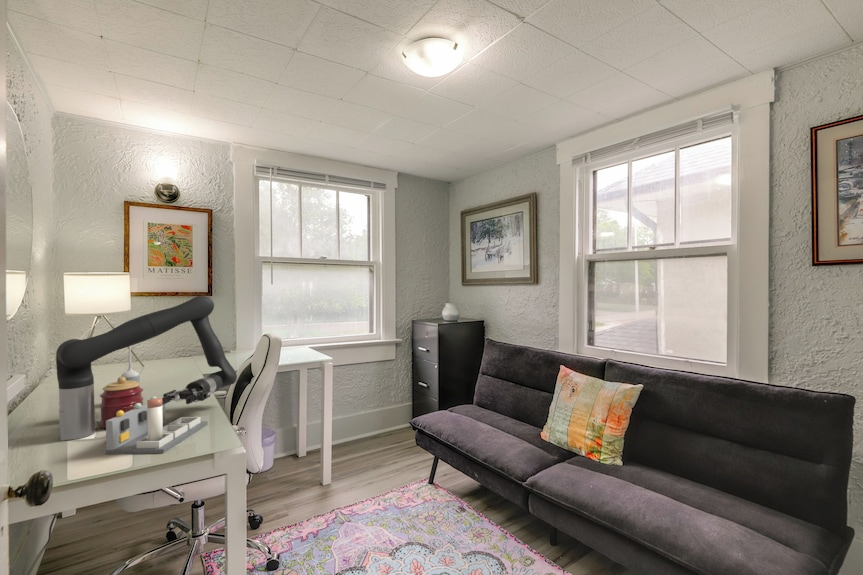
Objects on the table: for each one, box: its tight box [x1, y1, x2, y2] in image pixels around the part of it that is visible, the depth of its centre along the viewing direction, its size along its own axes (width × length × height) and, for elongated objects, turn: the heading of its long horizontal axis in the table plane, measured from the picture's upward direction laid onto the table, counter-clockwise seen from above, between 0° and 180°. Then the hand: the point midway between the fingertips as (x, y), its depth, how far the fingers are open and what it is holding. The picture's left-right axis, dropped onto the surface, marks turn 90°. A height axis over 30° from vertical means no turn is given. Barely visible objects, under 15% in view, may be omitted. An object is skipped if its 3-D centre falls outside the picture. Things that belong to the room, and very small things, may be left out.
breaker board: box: [104, 395, 209, 455], centre depth 139 cm, size 25×18×12 cm
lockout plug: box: [146, 397, 163, 441], centre depth 131 cm, size 4×4×14 cm
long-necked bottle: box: [120, 346, 141, 388], centre depth 179 cm, size 8×8×25 cm
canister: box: [99, 376, 144, 429], centre depth 154 cm, size 13×13×18 cm
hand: (174, 401), depth 141 cm, fingers open, 8 cm apart
